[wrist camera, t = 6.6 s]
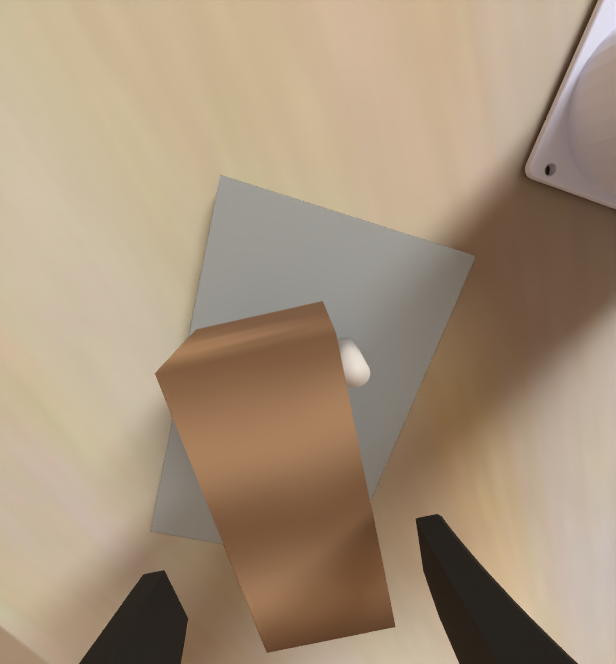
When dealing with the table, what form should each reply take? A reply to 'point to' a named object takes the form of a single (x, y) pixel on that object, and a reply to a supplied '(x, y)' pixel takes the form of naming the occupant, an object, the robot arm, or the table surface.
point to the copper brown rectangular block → (282, 472)
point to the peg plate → (343, 309)
